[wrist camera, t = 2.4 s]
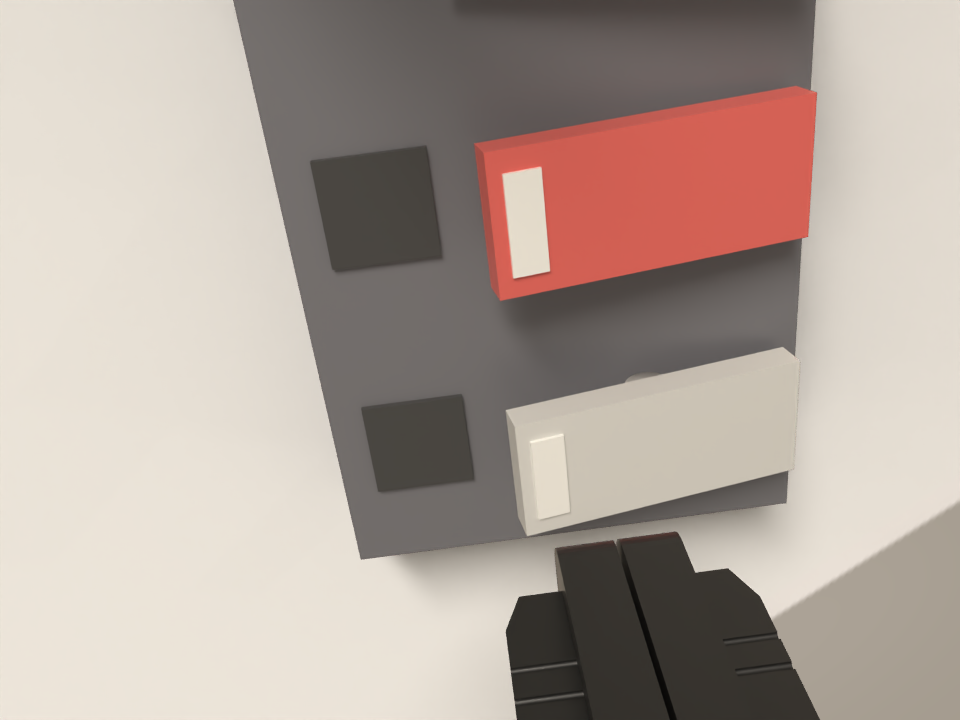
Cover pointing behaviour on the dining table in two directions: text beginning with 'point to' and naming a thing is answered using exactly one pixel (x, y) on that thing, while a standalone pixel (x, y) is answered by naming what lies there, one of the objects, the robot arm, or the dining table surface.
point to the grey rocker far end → (653, 439)
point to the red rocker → (646, 190)
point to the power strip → (461, 237)
